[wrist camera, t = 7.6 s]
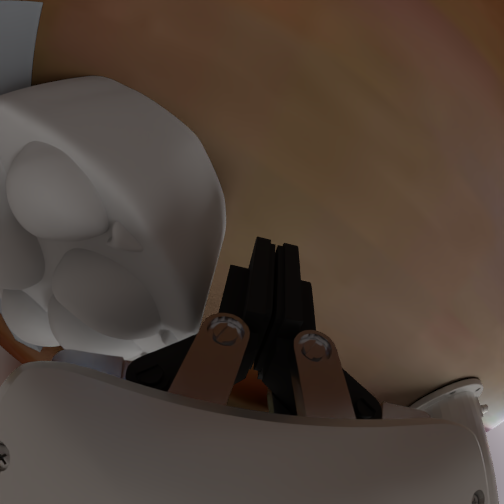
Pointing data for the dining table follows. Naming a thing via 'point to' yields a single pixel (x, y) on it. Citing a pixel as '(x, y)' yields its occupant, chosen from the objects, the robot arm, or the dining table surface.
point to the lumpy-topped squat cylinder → (104, 219)
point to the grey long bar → (17, 55)
